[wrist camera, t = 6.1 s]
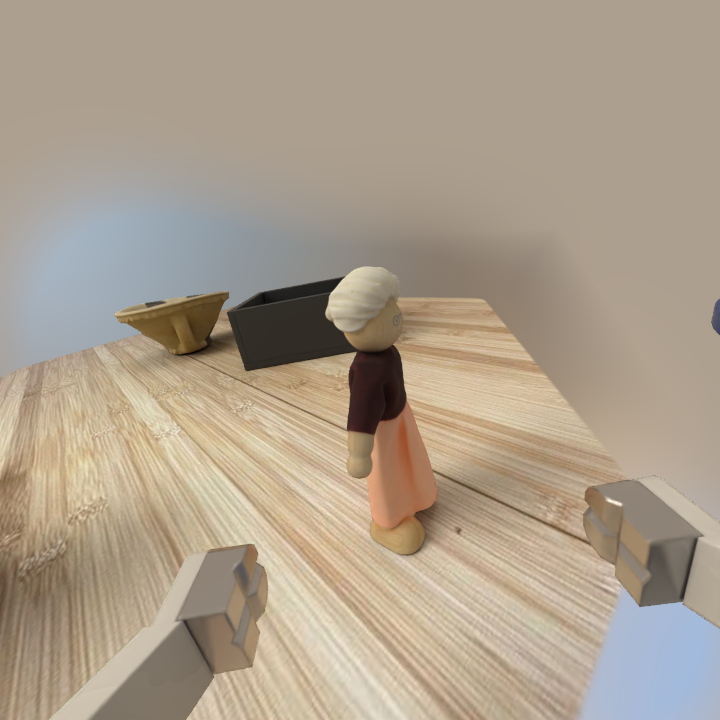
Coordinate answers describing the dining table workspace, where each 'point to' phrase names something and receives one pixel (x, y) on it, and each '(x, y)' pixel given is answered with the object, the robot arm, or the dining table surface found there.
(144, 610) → the dining table surface
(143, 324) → the bowl
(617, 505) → the robot arm
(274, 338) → the open square box
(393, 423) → the grandmother figurine
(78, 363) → the dining table surface
